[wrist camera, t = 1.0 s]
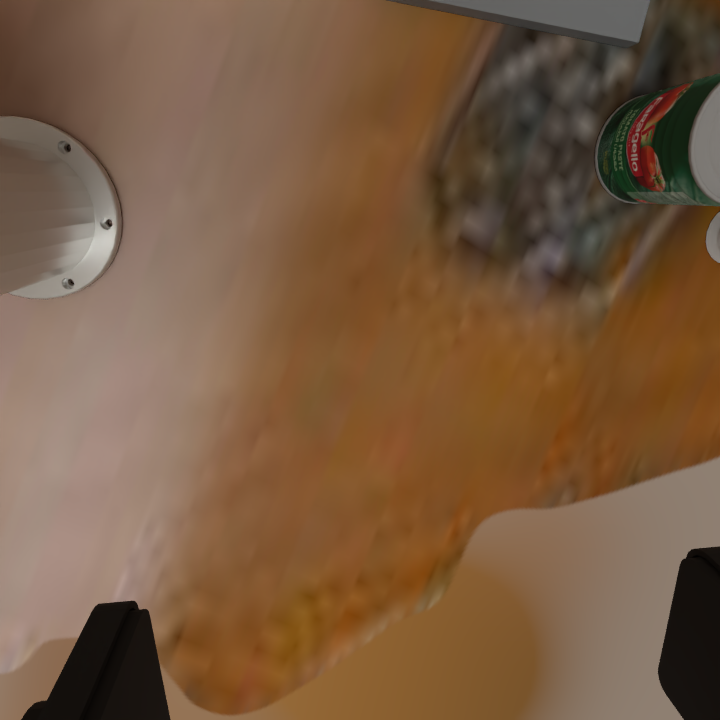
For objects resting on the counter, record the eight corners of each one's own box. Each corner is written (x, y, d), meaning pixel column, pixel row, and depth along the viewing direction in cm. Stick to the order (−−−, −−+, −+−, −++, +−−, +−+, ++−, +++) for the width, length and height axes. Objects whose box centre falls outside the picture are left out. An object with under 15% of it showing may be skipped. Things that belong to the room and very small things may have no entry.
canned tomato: (696, 185, 41) (824, 184, 31) (601, 216, 42) (697, 225, 31) (686, 79, 39) (822, 39, 28) (586, 112, 39) (685, 85, 29)
